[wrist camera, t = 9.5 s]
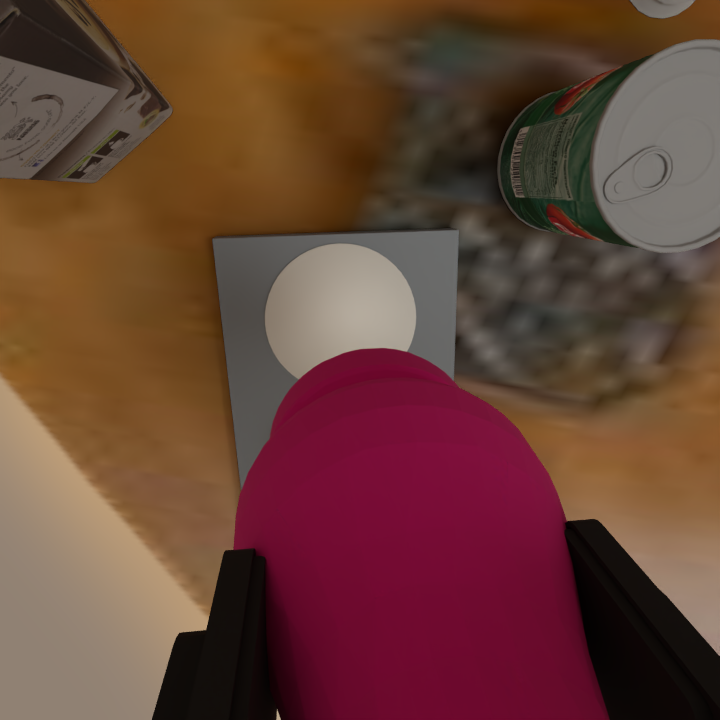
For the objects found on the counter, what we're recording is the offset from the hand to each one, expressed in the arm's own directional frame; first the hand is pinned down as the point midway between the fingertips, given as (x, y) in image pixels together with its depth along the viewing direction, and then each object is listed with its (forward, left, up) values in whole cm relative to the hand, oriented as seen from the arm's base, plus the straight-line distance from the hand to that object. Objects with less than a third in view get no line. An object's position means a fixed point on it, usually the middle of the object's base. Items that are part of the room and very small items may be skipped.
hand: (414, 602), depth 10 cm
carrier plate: (-5, 0, -24) cm, 24 cm away
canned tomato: (+8, -14, -24) cm, 29 cm away
